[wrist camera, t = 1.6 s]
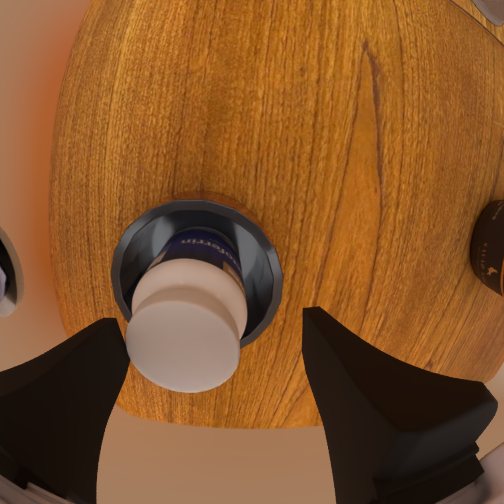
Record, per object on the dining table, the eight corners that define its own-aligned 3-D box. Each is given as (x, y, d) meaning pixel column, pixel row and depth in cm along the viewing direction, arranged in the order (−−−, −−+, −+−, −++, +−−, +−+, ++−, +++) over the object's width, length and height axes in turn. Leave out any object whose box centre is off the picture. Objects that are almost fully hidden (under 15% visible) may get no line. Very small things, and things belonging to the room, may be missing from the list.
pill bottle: (256, 251, 20) (283, 336, 10) (214, 312, 21) (210, 416, 11) (185, 208, 18) (143, 260, 9) (147, 275, 19) (97, 364, 10)
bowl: (191, 341, 22) (185, 378, 18) (108, 246, 19) (81, 269, 15) (296, 275, 21) (313, 304, 17) (216, 160, 18) (213, 160, 13)
